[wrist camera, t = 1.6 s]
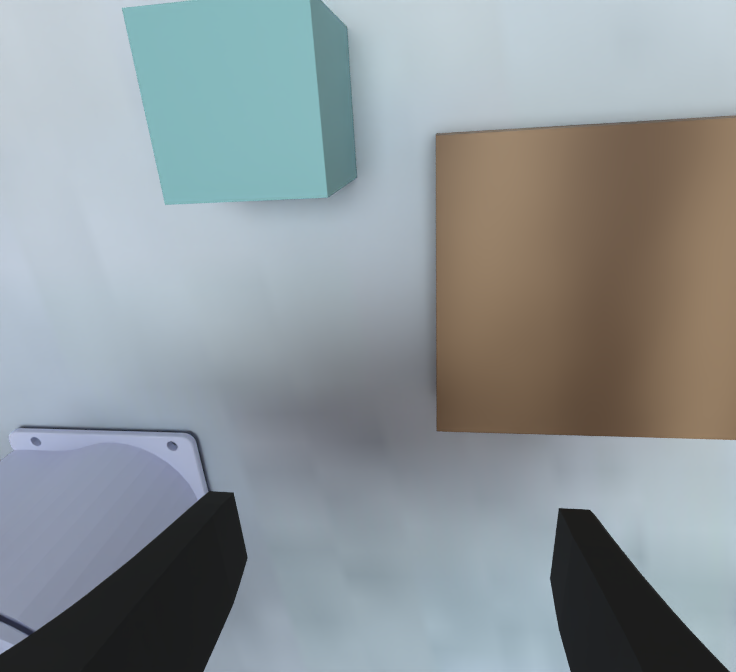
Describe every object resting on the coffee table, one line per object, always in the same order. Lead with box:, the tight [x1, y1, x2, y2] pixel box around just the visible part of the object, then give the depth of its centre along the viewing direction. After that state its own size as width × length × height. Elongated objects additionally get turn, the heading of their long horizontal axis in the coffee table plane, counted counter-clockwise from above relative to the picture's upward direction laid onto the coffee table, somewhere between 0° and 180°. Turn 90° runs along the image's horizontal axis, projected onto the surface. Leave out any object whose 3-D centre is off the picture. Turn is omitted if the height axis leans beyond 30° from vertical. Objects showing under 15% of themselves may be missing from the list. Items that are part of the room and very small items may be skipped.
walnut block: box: [436, 116, 736, 440], centre depth 16 cm, size 10×10×3 cm
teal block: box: [122, 0, 357, 205], centre depth 14 cm, size 4×4×5 cm
